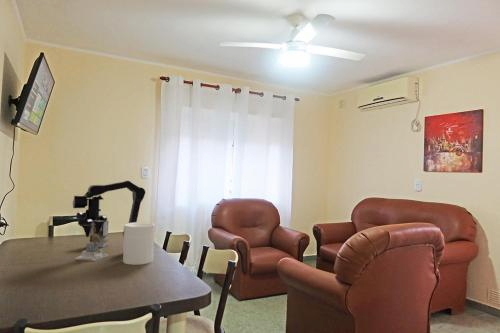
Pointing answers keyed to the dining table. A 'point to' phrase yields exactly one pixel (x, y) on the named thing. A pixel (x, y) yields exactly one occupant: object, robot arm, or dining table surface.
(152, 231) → the canister
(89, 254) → the sleeve block
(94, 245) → the column
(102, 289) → the dining table surface
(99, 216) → the robot arm
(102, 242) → the coffee box
